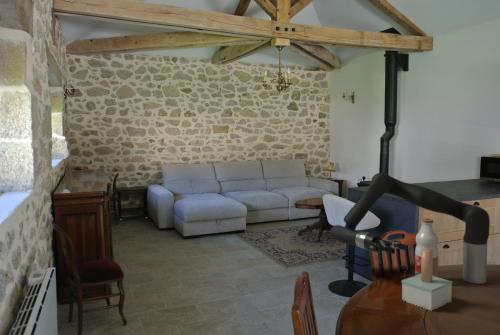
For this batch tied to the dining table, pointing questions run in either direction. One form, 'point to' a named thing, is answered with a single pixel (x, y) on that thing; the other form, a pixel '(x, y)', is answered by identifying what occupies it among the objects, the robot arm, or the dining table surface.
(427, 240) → the fruit juice
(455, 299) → the dining table surface
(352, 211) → the robot arm
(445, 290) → the box
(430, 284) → the peg on square base
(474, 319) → the dining table surface
